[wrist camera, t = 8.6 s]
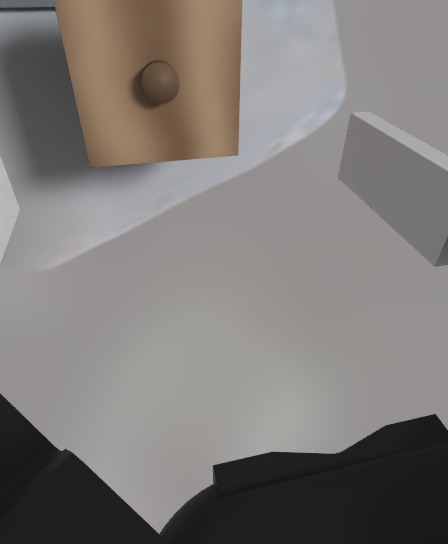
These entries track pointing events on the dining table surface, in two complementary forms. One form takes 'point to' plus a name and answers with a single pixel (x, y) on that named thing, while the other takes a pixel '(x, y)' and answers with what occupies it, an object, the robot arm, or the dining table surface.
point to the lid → (154, 77)
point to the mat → (26, 3)
